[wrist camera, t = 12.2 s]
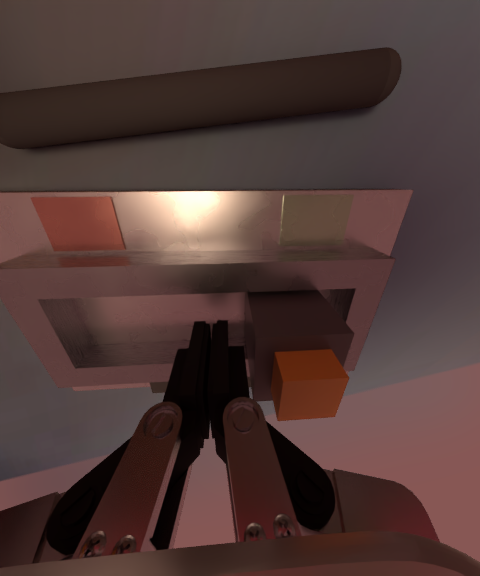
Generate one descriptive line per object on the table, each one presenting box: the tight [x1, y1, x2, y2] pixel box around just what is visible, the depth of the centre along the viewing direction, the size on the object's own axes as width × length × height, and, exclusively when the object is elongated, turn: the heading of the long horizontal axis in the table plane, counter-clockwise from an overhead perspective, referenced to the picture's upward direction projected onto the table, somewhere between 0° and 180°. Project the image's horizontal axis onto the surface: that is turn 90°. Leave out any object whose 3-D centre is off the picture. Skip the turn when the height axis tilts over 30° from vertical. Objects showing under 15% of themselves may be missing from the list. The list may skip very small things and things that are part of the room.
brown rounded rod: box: [0, 48, 401, 149], centre depth 9 cm, size 18×2×2 cm, turn 96°
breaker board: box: [0, 189, 413, 391], centre depth 13 cm, size 22×14×4 cm, turn 90°
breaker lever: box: [245, 290, 355, 421], centre depth 11 cm, size 4×4×6 cm
